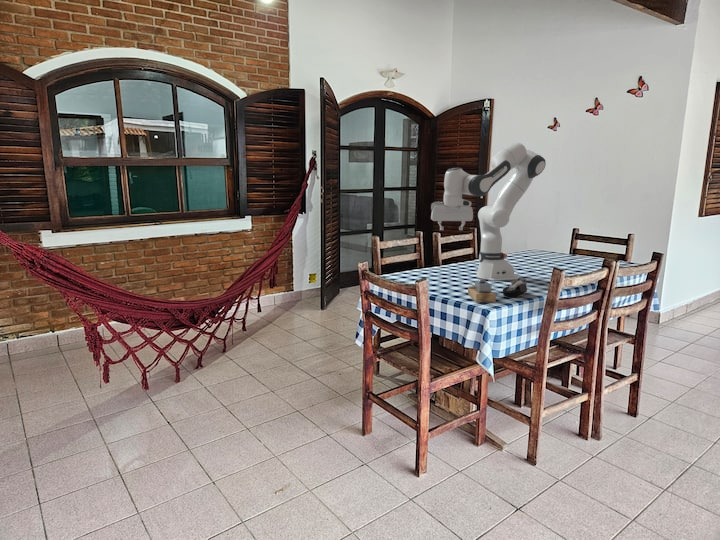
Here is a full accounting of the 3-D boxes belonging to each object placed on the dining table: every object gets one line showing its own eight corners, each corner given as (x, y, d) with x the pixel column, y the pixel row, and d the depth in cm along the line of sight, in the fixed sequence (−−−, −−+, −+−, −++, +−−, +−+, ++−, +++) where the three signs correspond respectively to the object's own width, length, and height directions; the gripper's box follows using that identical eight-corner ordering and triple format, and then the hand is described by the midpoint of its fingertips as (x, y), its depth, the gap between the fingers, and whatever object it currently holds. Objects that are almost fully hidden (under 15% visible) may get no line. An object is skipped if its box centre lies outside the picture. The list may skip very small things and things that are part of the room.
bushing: (489, 291, 244) (489, 285, 243) (492, 293, 240) (493, 287, 240) (481, 291, 244) (482, 285, 243) (484, 293, 240) (485, 287, 239)
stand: (486, 294, 238) (487, 286, 237) (495, 301, 224) (496, 293, 223) (467, 294, 237) (468, 286, 237) (475, 302, 224) (476, 293, 223)
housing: (490, 294, 226) (490, 282, 225) (479, 294, 226) (479, 282, 225) (484, 289, 234) (485, 279, 233) (474, 289, 234) (475, 279, 233)
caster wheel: (504, 302, 233) (503, 294, 242) (529, 299, 230) (527, 291, 239) (502, 289, 231) (501, 281, 240) (527, 286, 228) (525, 278, 237)
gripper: (432, 202, 237) (431, 230, 240) (474, 202, 238) (473, 231, 241) (430, 201, 244) (429, 229, 246) (471, 201, 245) (469, 229, 247)
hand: (451, 230), depth 244 cm, fingers open, 8 cm apart
